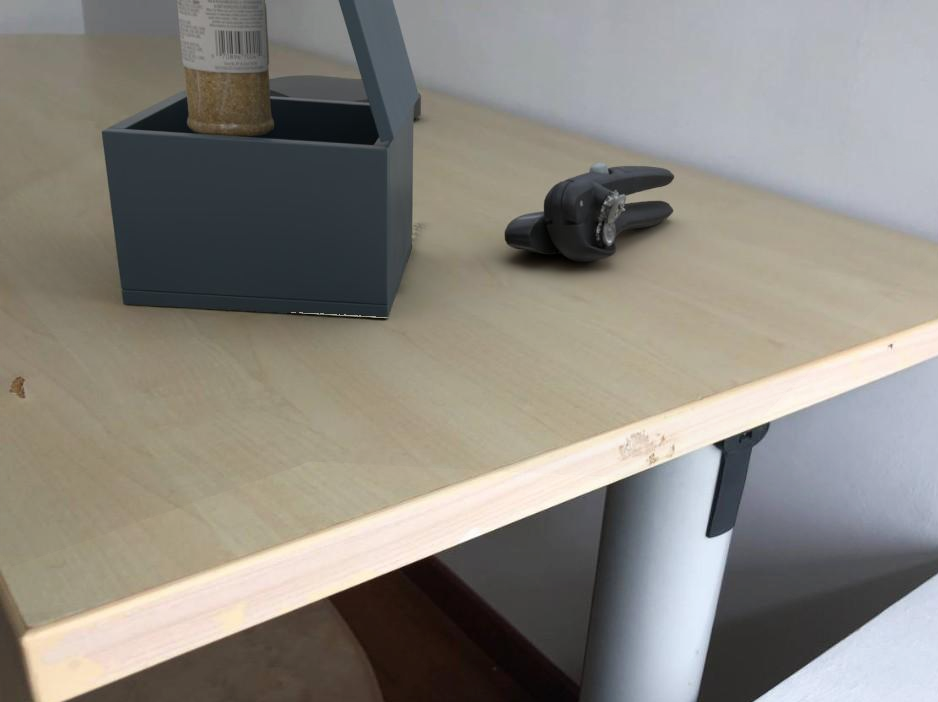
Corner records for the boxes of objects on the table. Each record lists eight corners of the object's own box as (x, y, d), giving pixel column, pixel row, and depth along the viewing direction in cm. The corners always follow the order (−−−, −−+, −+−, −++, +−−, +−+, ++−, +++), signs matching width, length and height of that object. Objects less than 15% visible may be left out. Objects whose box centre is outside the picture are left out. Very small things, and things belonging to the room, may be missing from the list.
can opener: (585, 284, 58) (593, 191, 56) (489, 258, 62) (494, 168, 59) (708, 226, 72) (719, 148, 69) (625, 207, 75) (633, 132, 73)
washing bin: (122, 304, 51) (100, 130, 47) (195, 234, 62) (182, 90, 58) (387, 319, 51) (387, 149, 47) (412, 247, 62) (413, 105, 59)
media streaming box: (353, 97, 111) (353, 69, 110) (436, 120, 102) (437, 90, 101) (236, 106, 101) (234, 75, 100) (315, 132, 92) (314, 99, 91)
